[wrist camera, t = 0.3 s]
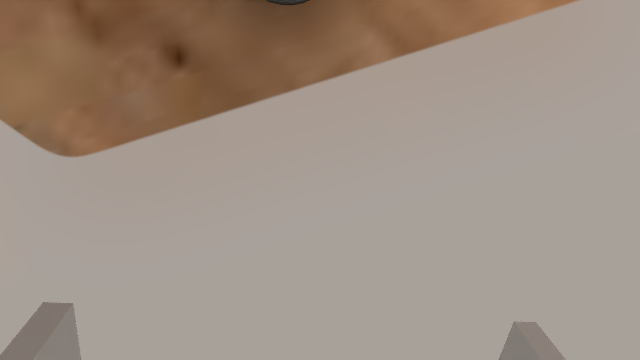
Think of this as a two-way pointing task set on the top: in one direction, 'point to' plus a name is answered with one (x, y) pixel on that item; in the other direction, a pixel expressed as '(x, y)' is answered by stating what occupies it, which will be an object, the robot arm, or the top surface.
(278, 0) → the french press
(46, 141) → the top surface
